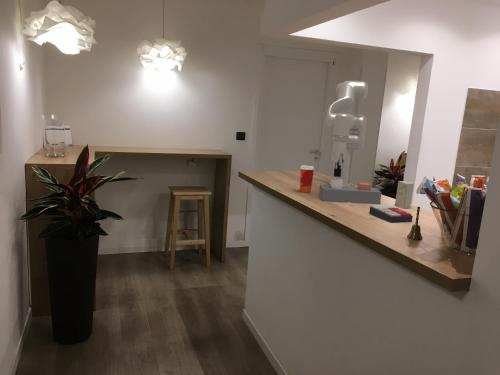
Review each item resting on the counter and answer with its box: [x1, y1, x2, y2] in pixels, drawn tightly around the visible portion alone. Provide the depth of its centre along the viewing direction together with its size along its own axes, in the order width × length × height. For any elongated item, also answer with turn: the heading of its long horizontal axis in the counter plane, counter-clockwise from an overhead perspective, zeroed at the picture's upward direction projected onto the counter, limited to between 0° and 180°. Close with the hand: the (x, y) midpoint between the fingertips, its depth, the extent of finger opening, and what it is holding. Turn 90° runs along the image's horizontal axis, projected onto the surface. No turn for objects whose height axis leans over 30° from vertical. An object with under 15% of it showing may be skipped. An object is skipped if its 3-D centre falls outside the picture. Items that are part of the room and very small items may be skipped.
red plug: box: [357, 182, 372, 191], centre depth 208 cm, size 5×5×7 cm
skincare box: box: [394, 180, 415, 209], centre depth 199 cm, size 6×4×12 cm
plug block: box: [318, 184, 382, 205], centre depth 209 cm, size 12×28×6 cm, turn 90°
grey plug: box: [329, 177, 343, 189], centre depth 208 cm, size 5×5×7 cm
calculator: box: [368, 204, 414, 224], centre depth 177 cm, size 11×4×15 cm
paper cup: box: [299, 164, 315, 194], centre depth 222 cm, size 8×8×14 cm
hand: (337, 176), depth 207 cm, fingers closed
